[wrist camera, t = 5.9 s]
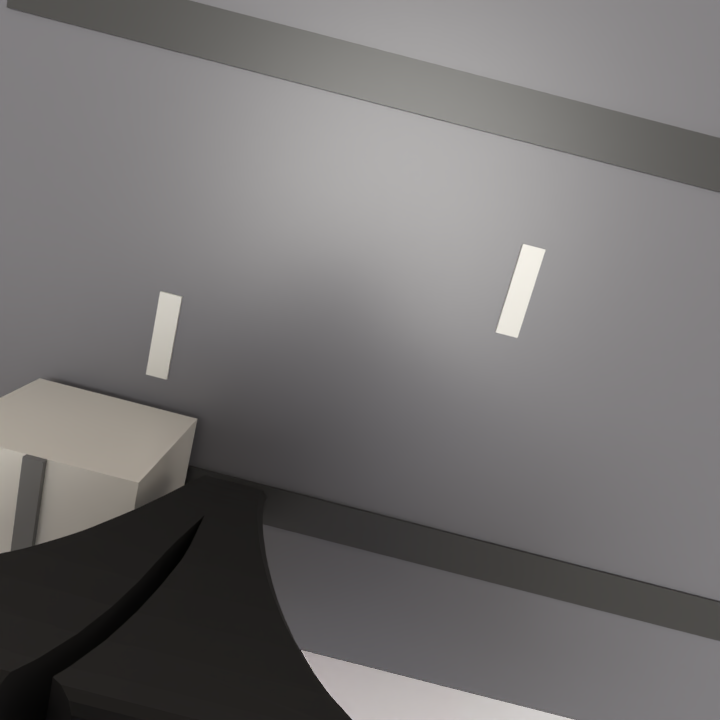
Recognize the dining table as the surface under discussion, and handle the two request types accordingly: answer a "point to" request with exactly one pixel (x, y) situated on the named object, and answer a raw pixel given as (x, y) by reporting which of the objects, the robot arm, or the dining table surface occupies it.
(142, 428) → the fader white
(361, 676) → the dining table surface
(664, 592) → the console
